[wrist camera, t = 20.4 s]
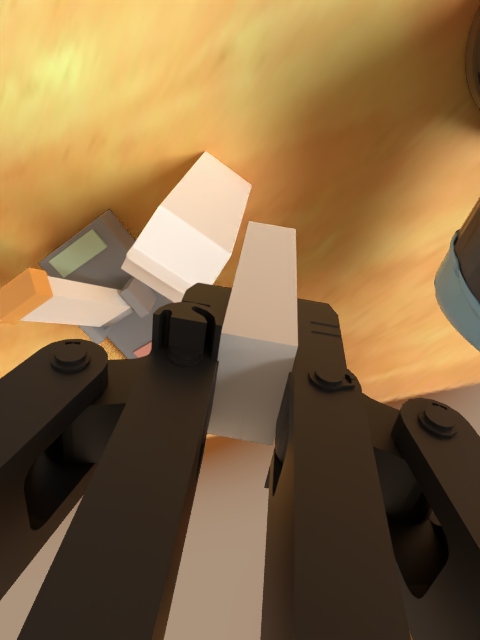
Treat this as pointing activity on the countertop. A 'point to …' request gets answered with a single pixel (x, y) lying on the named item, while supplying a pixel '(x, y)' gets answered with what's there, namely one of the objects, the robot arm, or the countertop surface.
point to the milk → (191, 230)
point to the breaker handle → (60, 301)
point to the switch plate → (109, 281)
